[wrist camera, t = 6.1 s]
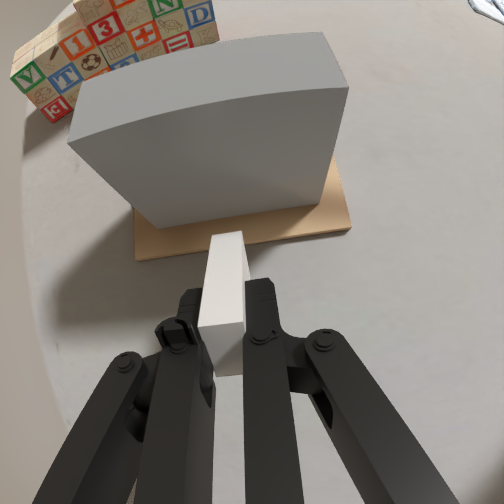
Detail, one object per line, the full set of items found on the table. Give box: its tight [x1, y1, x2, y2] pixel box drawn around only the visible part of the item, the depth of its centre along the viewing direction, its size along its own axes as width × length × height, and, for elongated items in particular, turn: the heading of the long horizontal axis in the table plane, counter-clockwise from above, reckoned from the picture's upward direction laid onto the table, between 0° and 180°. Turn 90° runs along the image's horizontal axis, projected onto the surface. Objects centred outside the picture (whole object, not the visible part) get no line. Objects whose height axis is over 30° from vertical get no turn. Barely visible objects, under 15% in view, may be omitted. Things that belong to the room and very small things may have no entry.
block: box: [67, 32, 349, 229], centre depth 17 cm, size 4×12×12 cm, turn 98°
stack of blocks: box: [10, 0, 219, 123], centre depth 24 cm, size 21×6×12 cm, turn 115°
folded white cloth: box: [469, 0, 504, 25], centre depth 31 cm, size 19×20×2 cm
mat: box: [134, 155, 352, 261], centre depth 25 cm, size 18×16×1 cm
